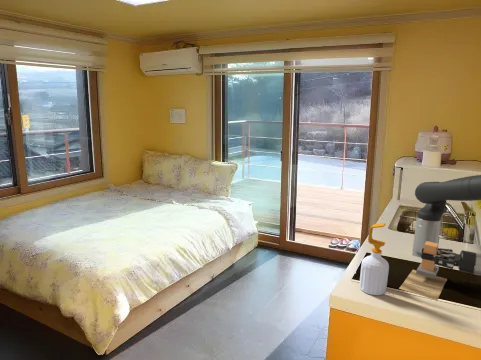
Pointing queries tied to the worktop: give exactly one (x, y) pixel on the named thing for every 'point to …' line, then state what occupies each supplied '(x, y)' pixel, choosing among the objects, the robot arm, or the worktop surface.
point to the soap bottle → (374, 268)
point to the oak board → (423, 285)
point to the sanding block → (428, 261)
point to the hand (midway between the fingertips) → (421, 253)
